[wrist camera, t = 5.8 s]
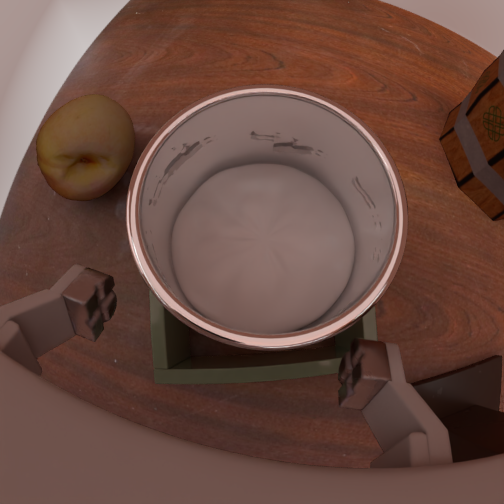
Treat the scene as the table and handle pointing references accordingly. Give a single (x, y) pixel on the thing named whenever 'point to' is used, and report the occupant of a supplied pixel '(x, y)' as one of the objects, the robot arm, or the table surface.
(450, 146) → the mug
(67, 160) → the fruit
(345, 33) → the table surface
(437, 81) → the table surface
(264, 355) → the holder
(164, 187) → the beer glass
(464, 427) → the stand post
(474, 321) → the table surface
